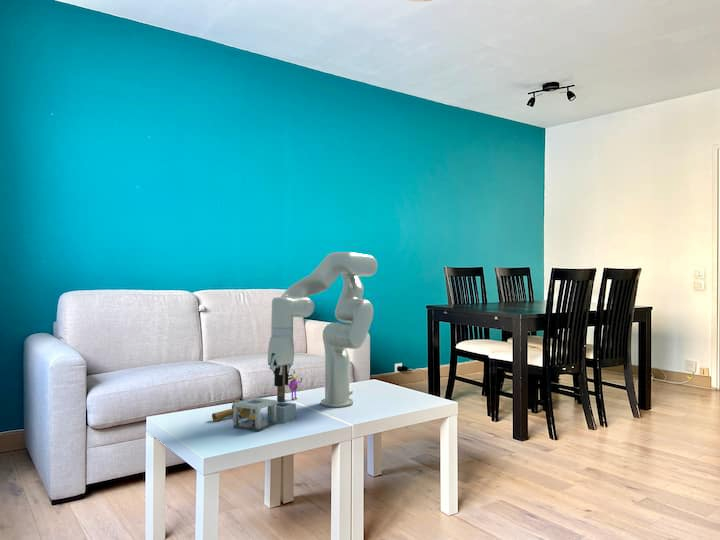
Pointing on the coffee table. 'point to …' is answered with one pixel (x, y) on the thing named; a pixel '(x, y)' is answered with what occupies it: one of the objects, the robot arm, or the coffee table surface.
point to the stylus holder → (283, 412)
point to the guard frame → (255, 409)
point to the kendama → (231, 413)
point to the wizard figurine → (293, 384)
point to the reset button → (252, 417)
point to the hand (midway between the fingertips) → (281, 385)
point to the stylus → (281, 388)
